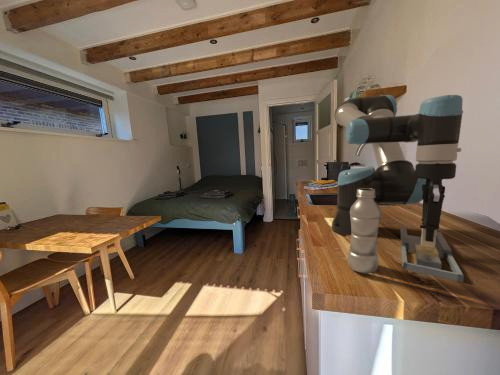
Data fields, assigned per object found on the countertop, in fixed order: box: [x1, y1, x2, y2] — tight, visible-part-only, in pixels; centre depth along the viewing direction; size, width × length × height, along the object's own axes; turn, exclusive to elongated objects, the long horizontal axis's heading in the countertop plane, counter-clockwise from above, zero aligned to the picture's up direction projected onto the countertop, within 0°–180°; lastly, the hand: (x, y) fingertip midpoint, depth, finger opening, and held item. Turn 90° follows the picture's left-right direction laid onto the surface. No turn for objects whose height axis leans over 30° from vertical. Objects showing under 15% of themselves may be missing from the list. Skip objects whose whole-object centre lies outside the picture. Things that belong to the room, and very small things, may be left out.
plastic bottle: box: [346, 188, 382, 275], centre depth 48 cm, size 6×7×20 cm
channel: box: [399, 226, 453, 260], centre depth 59 cm, size 10×15×3 cm, turn 145°
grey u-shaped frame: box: [400, 246, 465, 283], centre depth 49 cm, size 10×11×2 cm
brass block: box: [413, 244, 439, 257], centre depth 51 cm, size 4×4×3 cm
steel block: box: [414, 252, 442, 270], centre depth 48 cm, size 4×4×3 cm
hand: (427, 251), depth 53 cm, fingers closed
